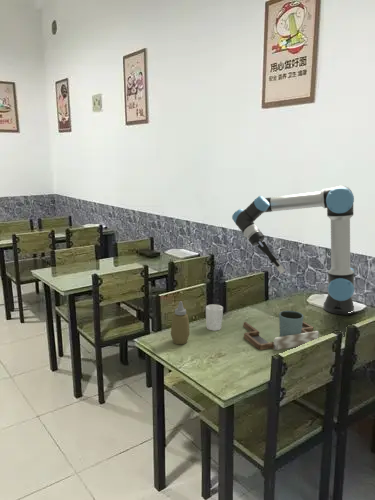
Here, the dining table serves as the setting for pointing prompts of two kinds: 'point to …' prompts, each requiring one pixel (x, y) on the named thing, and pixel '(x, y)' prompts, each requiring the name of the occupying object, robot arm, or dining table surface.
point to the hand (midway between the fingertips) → (283, 271)
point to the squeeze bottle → (180, 325)
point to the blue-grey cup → (290, 323)
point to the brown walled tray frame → (280, 338)
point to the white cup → (214, 317)
